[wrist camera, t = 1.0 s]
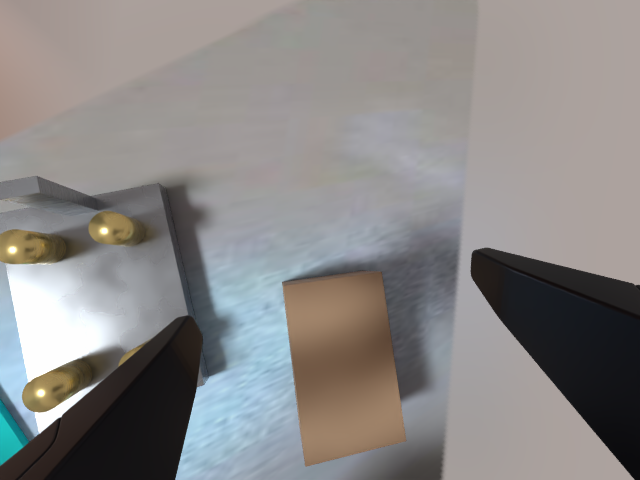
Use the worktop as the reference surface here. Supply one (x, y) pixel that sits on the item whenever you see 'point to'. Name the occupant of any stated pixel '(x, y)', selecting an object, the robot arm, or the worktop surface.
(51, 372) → the chassis
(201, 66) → the worktop surface
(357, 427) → the tan block
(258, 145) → the worktop surface
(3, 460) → the handheld gaming console
